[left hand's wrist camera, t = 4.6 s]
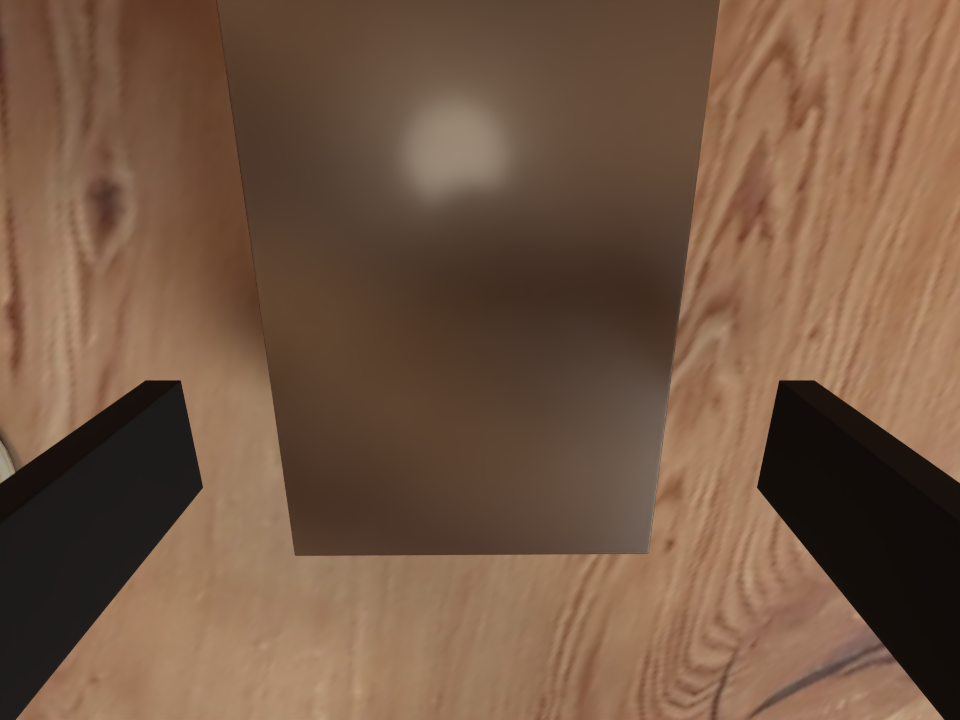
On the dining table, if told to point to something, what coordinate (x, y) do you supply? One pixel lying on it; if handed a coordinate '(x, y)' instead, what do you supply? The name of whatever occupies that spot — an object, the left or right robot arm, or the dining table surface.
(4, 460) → the seashell
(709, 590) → the dining table surface
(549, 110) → the cabinet
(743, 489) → the dining table surface
